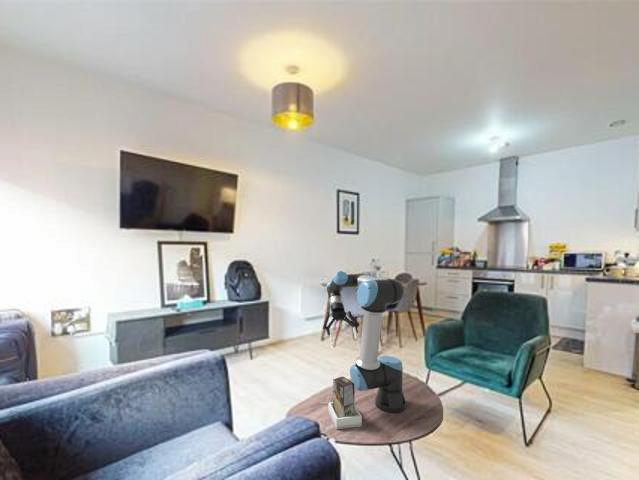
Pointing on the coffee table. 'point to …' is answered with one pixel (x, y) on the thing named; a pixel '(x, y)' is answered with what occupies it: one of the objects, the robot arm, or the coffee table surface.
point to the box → (345, 419)
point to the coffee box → (343, 397)
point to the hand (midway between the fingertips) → (344, 339)
